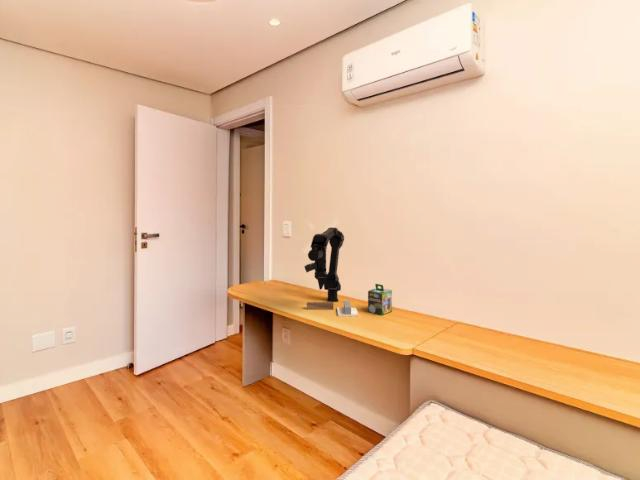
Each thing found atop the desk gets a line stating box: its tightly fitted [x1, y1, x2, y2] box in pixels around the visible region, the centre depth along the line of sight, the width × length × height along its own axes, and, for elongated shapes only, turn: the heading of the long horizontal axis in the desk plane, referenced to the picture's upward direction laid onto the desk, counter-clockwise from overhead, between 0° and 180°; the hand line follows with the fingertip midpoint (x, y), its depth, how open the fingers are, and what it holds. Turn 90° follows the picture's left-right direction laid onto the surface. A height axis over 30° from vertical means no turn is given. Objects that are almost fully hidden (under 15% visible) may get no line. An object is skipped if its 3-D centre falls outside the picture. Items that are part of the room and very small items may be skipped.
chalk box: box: [367, 283, 393, 316], centre depth 183 cm, size 9×9×15 cm
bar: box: [306, 301, 334, 311], centre depth 188 cm, size 3×14×4 cm, turn 90°
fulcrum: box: [336, 300, 359, 317], centre depth 181 cm, size 12×10×4 cm
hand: (320, 287), depth 187 cm, fingers open, 9 cm apart
